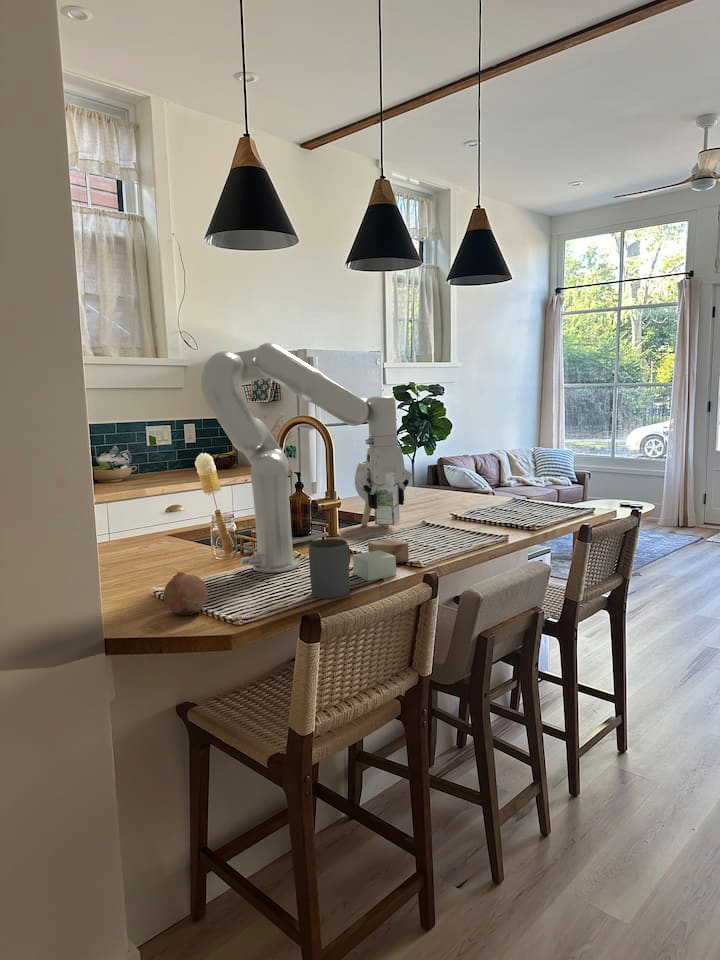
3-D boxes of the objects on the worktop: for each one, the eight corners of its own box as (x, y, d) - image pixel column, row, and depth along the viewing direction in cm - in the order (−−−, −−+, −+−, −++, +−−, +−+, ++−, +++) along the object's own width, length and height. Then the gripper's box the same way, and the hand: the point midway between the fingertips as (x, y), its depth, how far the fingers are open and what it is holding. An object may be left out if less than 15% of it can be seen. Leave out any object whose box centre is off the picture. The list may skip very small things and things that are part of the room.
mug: (337, 601, 147) (334, 549, 146) (303, 596, 152) (300, 546, 150) (366, 584, 159) (364, 536, 157) (334, 580, 164) (332, 533, 162)
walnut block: (383, 565, 175) (382, 547, 175) (368, 559, 182) (368, 542, 182) (408, 560, 179) (407, 543, 178) (393, 555, 186) (392, 537, 185)
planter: (398, 519, 237) (395, 457, 234) (407, 528, 222) (404, 462, 219) (354, 522, 235) (351, 460, 232) (360, 531, 219) (357, 465, 216)
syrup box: (400, 521, 181) (398, 469, 179) (394, 525, 175) (392, 472, 174) (380, 520, 183) (378, 469, 181) (374, 525, 177) (371, 472, 175)
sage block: (368, 580, 162) (367, 561, 161) (353, 573, 169) (352, 554, 168) (396, 575, 165) (395, 556, 165) (380, 568, 173) (379, 550, 172)
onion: (178, 623, 147) (167, 580, 149) (217, 609, 147) (206, 567, 149) (163, 622, 138) (151, 577, 140) (205, 607, 138) (193, 562, 140)
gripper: (361, 445, 169) (365, 512, 171) (418, 439, 177) (421, 504, 179) (348, 444, 175) (352, 508, 178) (403, 438, 183) (406, 500, 186)
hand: (386, 506), depth 179 cm, fingers closed on syrup box, 7 cm apart
